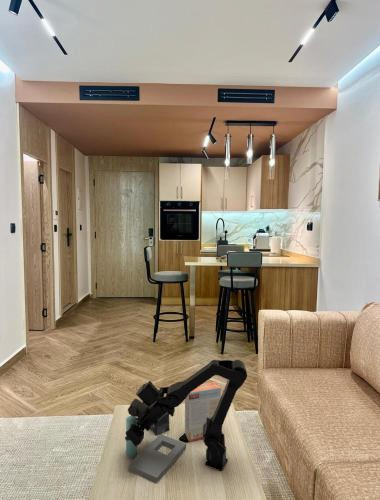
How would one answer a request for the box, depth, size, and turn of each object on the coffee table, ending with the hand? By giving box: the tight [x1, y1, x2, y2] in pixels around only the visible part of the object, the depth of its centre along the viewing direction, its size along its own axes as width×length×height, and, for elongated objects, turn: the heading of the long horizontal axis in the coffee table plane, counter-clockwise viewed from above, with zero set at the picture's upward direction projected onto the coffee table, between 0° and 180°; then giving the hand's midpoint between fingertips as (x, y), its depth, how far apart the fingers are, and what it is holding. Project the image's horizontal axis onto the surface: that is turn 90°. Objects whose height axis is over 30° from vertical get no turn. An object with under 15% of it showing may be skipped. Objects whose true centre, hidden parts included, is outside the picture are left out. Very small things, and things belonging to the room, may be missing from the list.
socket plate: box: [128, 433, 187, 484], centre depth 123 cm, size 12×20×2 cm, turn 151°
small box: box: [142, 401, 170, 436], centre depth 144 cm, size 13×7×12 cm, turn 33°
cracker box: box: [184, 381, 222, 442], centre depth 137 cm, size 14×6×21 cm, turn 108°
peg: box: [125, 415, 138, 459], centre depth 125 cm, size 4×4×14 cm
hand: (128, 435), depth 126 cm, fingers closed on peg, 4 cm apart
